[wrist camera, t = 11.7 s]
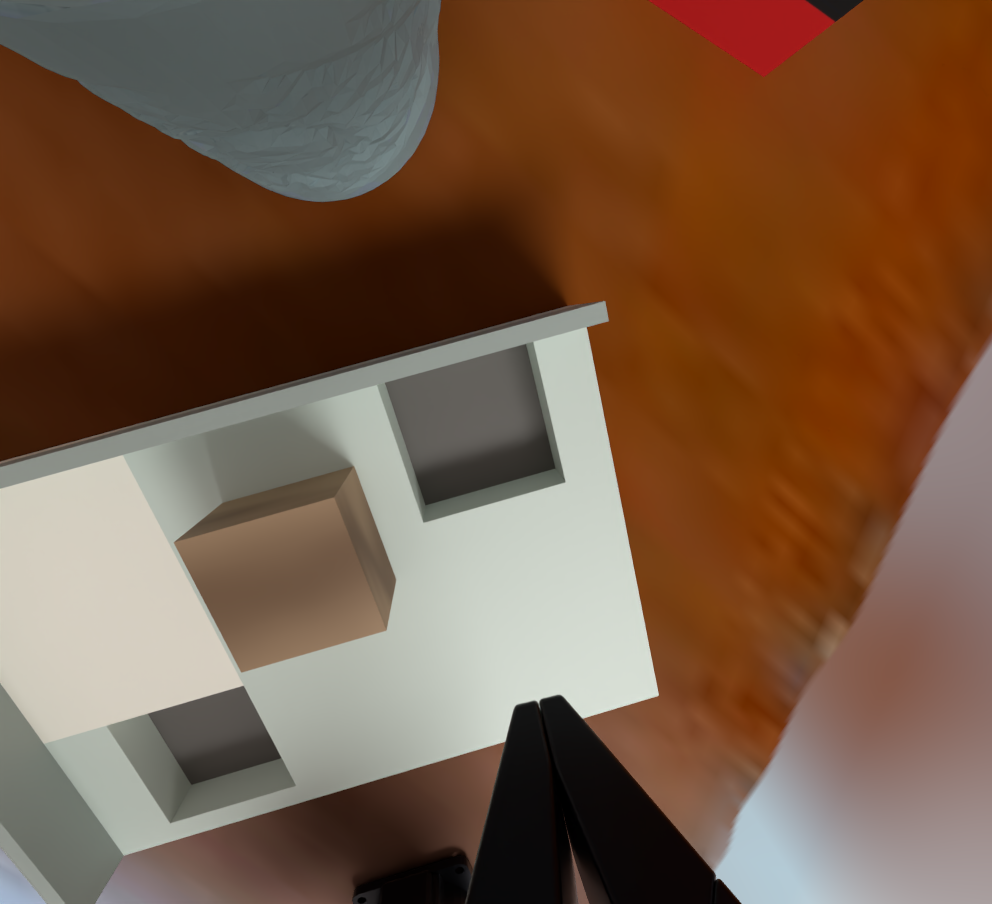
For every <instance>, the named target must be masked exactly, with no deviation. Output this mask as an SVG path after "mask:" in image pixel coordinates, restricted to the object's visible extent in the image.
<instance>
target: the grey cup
mask: <svg viewBox="0 0 992 904" xmlns="http://www.w3.org/2000/svg"><path fill="white" fill-rule="evenodd" d="M440 6H441V0H0V44H1V45H3V46H5V47H7V48H9V49H11V50H13V51H15V52H17V53H19V54H21V55H23V56H24V57H26V58H28V59H30V60H31V61H33V62H35V63H37V64H38V65H40V66H42V67H44V68H46V69H49V70H51V71H53V72H55V73H58V74H60V75H62V76H65V77H68V78H72V79H75V80H78V81H79V83H80V84H81V85H83V86H84V87H85V88H87V89H88V90H89V91H91V92H92V93H93V94H95V95H97V96H98V97H100V98H102V99H104V100H106V101H107V102H109V103H111V104H113V105H115V106H117V107H120V108H121V109H123V110H124V111H126V112H127V113H129V114H130V115H132V116H133V117H135V118H137V119H139V120H141V121H143V122H145V123H147V124H149V125H151V126H153V127H155V128H157V129H158V130H159V131H161V132H163V133H165V134H167V135H169V136H171V137H173V138H175V139H181V140H182V141H183V142H184V143H185V144H186V145H187V146H188V147H190V148H192V149H194V150H195V151H197V152H199V153H201V154H202V155H204V156H208V157H210V158H211V159H216V160H217V161H219V162H220V163H222V164H224V165H225V166H227V167H228V168H230V169H231V170H233V171H235V172H237V173H239V174H240V175H242V176H244V177H246V178H247V179H249V180H251V181H253V182H255V183H257V184H258V185H260V186H262V187H264V188H266V189H268V190H271V191H273V192H276V193H279V194H281V195H284V196H287V197H291V198H296V199H300V200H306V201H315V202H328V201H337V200H345V199H349V198H353V197H356V196H359V195H362V194H364V193H366V192H369V191H371V190H373V189H375V188H376V187H378V186H379V185H381V184H382V183H384V182H386V181H387V180H389V179H390V178H391V177H392V176H393V175H395V174H396V173H397V172H398V171H399V170H400V169H401V168H402V167H403V165H404V164H405V163H406V162H407V161H408V159H409V158H410V157H411V156H412V155H413V153H414V152H415V150H416V148H417V147H418V145H419V143H420V141H421V139H422V138H423V136H424V134H425V132H426V129H427V126H428V123H429V121H430V118H431V115H432V112H433V108H434V104H435V98H436V91H437V83H438V73H439V49H438V34H437V30H438V17H439V12H440Z"/></svg>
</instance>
